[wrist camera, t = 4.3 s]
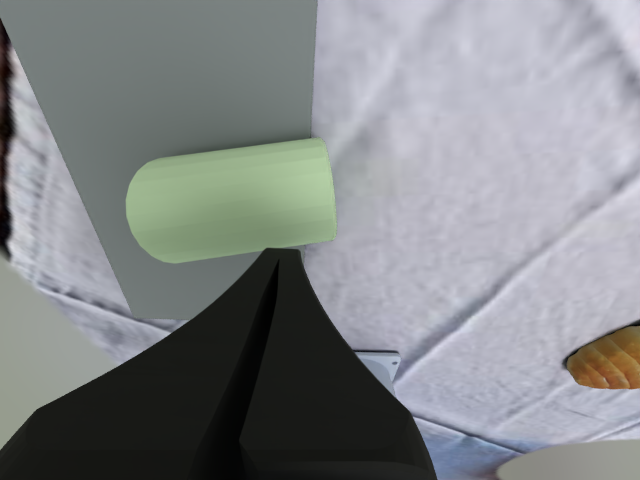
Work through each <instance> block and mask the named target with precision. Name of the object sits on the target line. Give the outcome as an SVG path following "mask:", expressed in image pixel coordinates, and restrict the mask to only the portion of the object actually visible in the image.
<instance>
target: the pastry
mask: <svg viewBox="0 0 640 480" xmlns="http://www.w3.org/2000/svg"><path fill="white" fill-rule="evenodd" d="M567 369H568V371H569V372H570V374H571V375H572V376H573V378H574V380H575V381H576V382H577V383H578V384H579V385H583V386H589V387H592V388H598V389H606V388H607V389H637V388H640V326H629V327H626V328H623V329H620V330H617V331H616V332H615V333H613V334H610V335H606V336H604V337H602V338H600V339H598V340H596V341H594V342H592V343H590V344H588V345H586V346H584V347H582V348H580V349H579V350H578V352H577V353H576V354H574V355H572V356H570V357H569V358H568V361H567Z"/></svg>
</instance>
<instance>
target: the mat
mask: <svg viewBox="0 0 640 480" xmlns="http://www.w3.org/2000/svg"><path fill="white" fill-rule="evenodd" d="M0 18H1V20H2V22H3V24H4V27H5V29H6V31H7V33H8V36H9V38H10V40H11V42H12V45H13V47H14V49H15V51H16V53H17V56H18V58H19V60H20V62H21V65H22V67H23V69H24V71H25V74H26V76H27V78H28V80H29V83H30V85H31V87H32V89H33V92H34V94H35V96H36V98H37V101H38V103H39V105H40V107H41V110H42V112H43V114H44V116H45V119H46V121H47V123H48V125H49V128H50V130H51V132H52V134H53V137H54V139H55V141H56V143H57V146H58V148H59V150H60V152H61V154H62V157H63V159H64V161H65V163H66V166H67V168H68V170H69V172H70V175H71V177H72V179H73V181H74V184H75V186H76V188H77V190H78V193H79V195H80V197H81V199H82V202H83V204H84V206H85V208H86V211H87V213H88V215H89V217H90V220H91V222H92V224H93V226H94V229H95V231H96V233H97V235H98V238H99V240H100V242H101V244H102V247H103V249H104V251H105V253H106V255H107V258H108V260H109V262H110V264H111V267H112V269H113V271H114V273H115V276H116V278H117V280H118V282H119V285H120V287H121V289H122V291H123V294H124V296H125V298H126V300H127V303H128V305H129V307H130V309H131V312H132V314H133V316H134V318H146V319H180V320H191V319H193V318H194V317H195V316H197V315H198V314H199V313H200V312H202V311H203V310H204V309H205V308H207V307H208V306H209V305H210V304H211V303H213V302H214V301H215V300H216V299H217V298H218V297H220V296H221V295H222V294H223V293H224V292H225V291H226V290H227V289H228V288H229V287H230V286H231V285H232V284H233V283H234V282H235V281H236V280H237V279H238V278H239V277H240V276H241V275H242V274H243V273H244V272H245V271H246V270H247V269H248V268H249V267H250V266H251V265H252V263H253V262H254V261H255V260H256V259H257V258H258V256H259V255H260V254H261V253H262V251H257V252H250V253H244V254H237V255H230V256H223V257H217V258H210V259H203V260H196V261H190V262H183V263H176V264H175V263H167V262H163V261H160V260H158V259H156V258H154V257H152V256H151V255H150V254H149V253H147V252H146V251H145V250H144V249H143V248H142V247H141V246H140V245H139V243H138V242H137V240H136V239H135V237H134V236H133V234H132V232H131V229H130V226H129V223H128V220H127V217H126V196H127V192H128V188H129V184H130V182H131V181H132V179H133V177H134V176H135V174H136V172H137V171H138V170H139V169H140V168H141V167H143V166H144V165H145V164H146V163H147V162H150V161H153V160H156V159H158V158H165V157H172V156H180V155H188V154H195V153H203V152H211V151H218V150H226V149H234V148H241V147H249V146H257V145H264V144H272V143H280V142H287V141H295V140H303V139H310V134H311V115H312V95H313V76H314V56H315V37H316V18H317V0H0ZM284 248H286V249H299V250H300V251H301V258H302V262H303V266H304V250H305V245H298V246H291V247H284Z"/></svg>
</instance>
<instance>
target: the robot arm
mask: <svg viewBox="0 0 640 480" xmlns="http://www.w3.org/2000/svg"><path fill="white" fill-rule="evenodd" d="M400 361H401V356H400V354H398V353H374V352H354V351H353V350H352V349H351V347H350V346H349V345H348V344H347V342H346V341H345V340H344V339H343V337H342V336H341V335H340V333H339V332H338V330H337V329H336V327H335V326H334V325H333V323H332V322H331V320H330V319H329V317H328V315H327V314H326V312H325V311H324V309H323V307H322V305H321V304H320V302H319V300H318V298H317V296H316V294H315V292H314V290H313V288H312V286H311V284H310V281H309V279H308V277H307V274H306V272H305V269H304V266H303V262H302V258H301V251H300V250H299V249H286V248H265V249H264V250H263V251H262V253H261V254H260V255H259V256H258V258H257V259H256V260H255V261H254V262H253V263H252V265H251V266H250V267H249V268H248V269H247V270H246V271H245V272H244V273H243V274H242V275H241V276H240V277H239V278H238V279H237V280H236V281H235V282H234V283H233V284H232V285H231V286H230V287H229V288H228V289H227V290H226V291H225V292H224V293H223V294H222V295H221V296H220V297H218V298H217V299H216V300H215V301H214V302H213V303H211V304H210V305H209V306H208V307H207V308H205V309H204V310H203V311H202V312H200V313H199V314H198V315H197V316H195V317H194V318H193V319H191V320H190V321H188V322H187V323H186V324H184V325H183V326H181V327H180V328H178V329H177V330H176V331H174V332H173V333H171V334H170V335H168V336H167V337H165V338H164V339H162V340H161V341H159V342H158V343H156V344H155V345H153V346H151V347H150V348H148V349H146V350H145V351H143V352H142V353H140V354H138V355H137V356H135V357H133V358H132V359H130V360H128V361H126V362H125V363H123V364H121V365H120V366H118V367H116V368H114V369H112V370H111V371H109V372H107V373H105V374H104V375H102V376H100V377H98V378H96V379H94V380H92V381H91V382H89V383H87V384H85V385H83V386H81V387H79V388H77V389H75V390H73V391H71V392H69V393H68V394H66V395H64V396H62V397H60V398H58V399H56V400H54V401H52V402H50V403H48V404H46V405H44V406H42V407H40V408H39V409H37V410H36V411H35V412H34V413H33V414H32V415H31V416H30V417H29V418H28V419H27V421H26V422H25V423H24V424H23V425H22V426H21V427H20V428H19V429H18V431H17V432H16V433H15V434H14V435H13V436H12V437H11V439H10V440H9V441H8V442H7V443H6V444H5V445H4V446H3V448H2V449H1V450H0V480H437V476H436V473H435V470H434V466H433V463H432V460H431V458H430V455H429V452H428V450H427V448H426V445H425V443H424V441H423V438H422V436H421V434H420V431H419V429H418V427H417V425H416V423H415V421H414V419H413V417H412V415H411V413H410V411H409V410H408V409H407V408H406V407H404V406H403V405H402V404H401V403H400V402H399V401H398V400H397V399H396V396H395V392H394V389H393V385H392V381H393V379H394V376H395V374H396V371H397V369H398V366H399V364H400Z"/></svg>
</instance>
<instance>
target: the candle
mask: <svg viewBox="0 0 640 480" xmlns="http://www.w3.org/2000/svg"><path fill="white" fill-rule="evenodd" d="M126 217H127V220H128V223H129V226H130V229H131V232H132V234H133V236H134V237H135V239H136V240H137V242H138V243H139V245H140V246H141V247H142V248H143V249H144V250H145V251H146V252H147V253H149V254H150V255H151V256H152V257H154V258H156V259H158V260H160V261H163V262H167V263H175V264H176V263H183V262H190V261H196V260H203V259H210V258H217V257H223V256H230V255H237V254H244V253H250V252H257V251H263V250H264V249H265V248H284V247H291V246H298V245H305V244H311V243H318V242H325V241H332V240H334V238H335V237H336V232H337V218H336V204H335V195H334V186H333V179H332V172H331V167H330V161H329V157H328V152H327V148H326V145H325V142H324V141H323V140H322V139H321V138H320V137H318V138H310V139H303V140H295V141H287V142H280V143H272V144H264V145H257V146H249V147H241V148H234V149H226V150H218V151H211V152H203V153H195V154H188V155H180V156H172V157H165V158H158V159H156V160H153V161H150V162H147V163H146V164H145V165H144V166H143V167H141V168H140V169H139V170H138V171H137V172H136V174H135V176H134V177H133V179H132V181H131V182H130V184H129V188H128V192H127V196H126Z"/></svg>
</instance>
